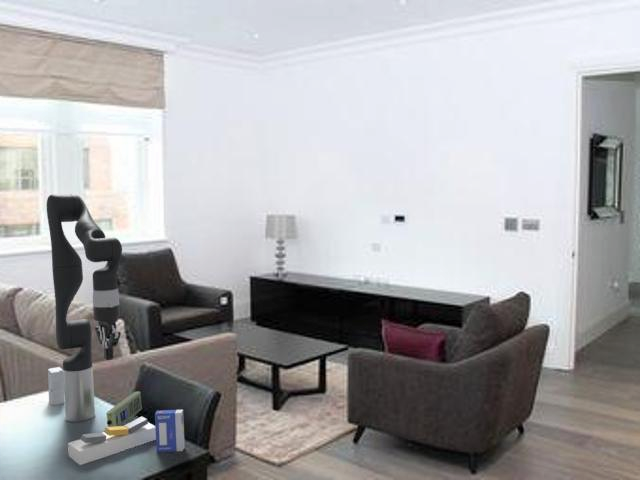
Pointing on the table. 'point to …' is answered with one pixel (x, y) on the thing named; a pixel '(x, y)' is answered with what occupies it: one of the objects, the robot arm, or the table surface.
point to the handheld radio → (124, 410)
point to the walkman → (169, 430)
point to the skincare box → (56, 386)
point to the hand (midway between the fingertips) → (109, 359)
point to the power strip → (110, 444)
